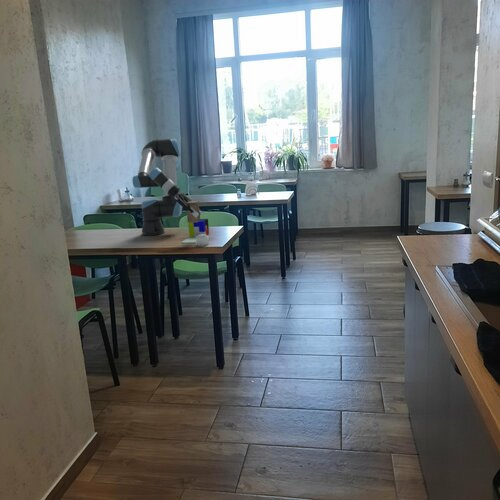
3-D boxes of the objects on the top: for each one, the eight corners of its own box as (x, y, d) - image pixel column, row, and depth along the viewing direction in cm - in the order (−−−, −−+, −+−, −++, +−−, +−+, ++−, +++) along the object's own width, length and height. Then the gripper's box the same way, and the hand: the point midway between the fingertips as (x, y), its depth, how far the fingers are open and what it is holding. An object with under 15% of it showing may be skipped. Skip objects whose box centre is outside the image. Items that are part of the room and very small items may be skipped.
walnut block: (190, 220, 285) (189, 201, 282) (200, 220, 283) (198, 201, 280) (187, 222, 279) (185, 202, 276) (197, 222, 277) (195, 202, 275)
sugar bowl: (199, 243, 276) (198, 233, 274) (210, 243, 274) (209, 233, 273) (195, 246, 269) (194, 236, 268) (206, 245, 268) (205, 236, 266)
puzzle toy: (204, 237, 294) (203, 221, 292) (189, 237, 296) (188, 221, 294) (209, 233, 303) (207, 218, 301) (194, 234, 306) (193, 219, 303)
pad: (188, 238, 292) (188, 237, 292) (210, 238, 289) (210, 237, 289) (181, 243, 279) (180, 242, 279) (203, 243, 276) (203, 242, 276)
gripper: (173, 191, 290) (200, 217, 290) (161, 195, 271) (190, 222, 271) (180, 182, 287) (207, 208, 287) (168, 185, 269) (198, 213, 269)
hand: (199, 215), depth 279 cm, fingers closed on walnut block, 6 cm apart
